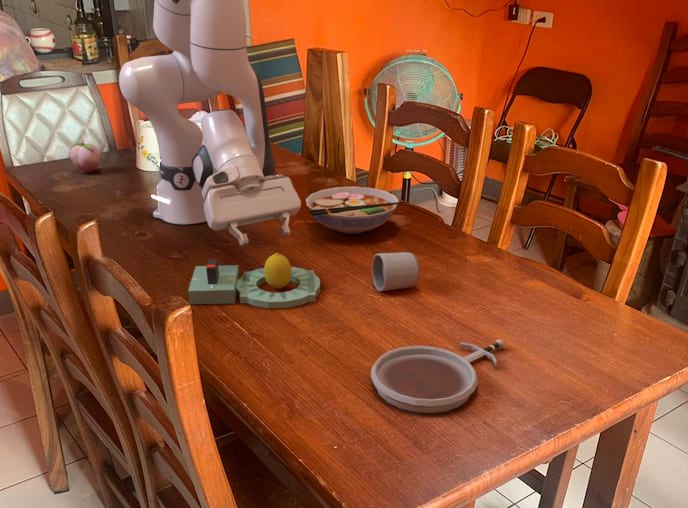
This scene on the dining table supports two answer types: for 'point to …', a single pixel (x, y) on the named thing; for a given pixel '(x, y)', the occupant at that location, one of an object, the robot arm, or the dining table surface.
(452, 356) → the frying pan
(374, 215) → the ramen bowl
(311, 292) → the hob
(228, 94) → the robot arm
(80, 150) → the decorative fruit
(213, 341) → the dining table surface
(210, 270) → the hob knob
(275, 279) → the lemon
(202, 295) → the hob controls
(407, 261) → the ceramic mug
